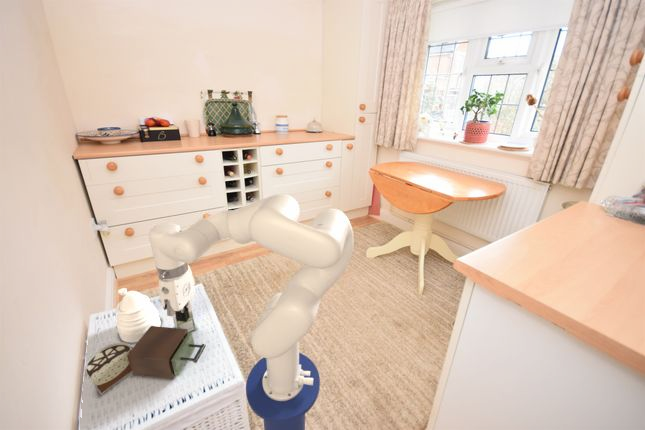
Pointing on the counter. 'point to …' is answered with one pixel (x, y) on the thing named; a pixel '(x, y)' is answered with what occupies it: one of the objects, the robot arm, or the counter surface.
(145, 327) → the honey pot
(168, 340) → the cabinet
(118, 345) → the mint chocolate cake slice
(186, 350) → the drawer
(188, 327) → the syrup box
